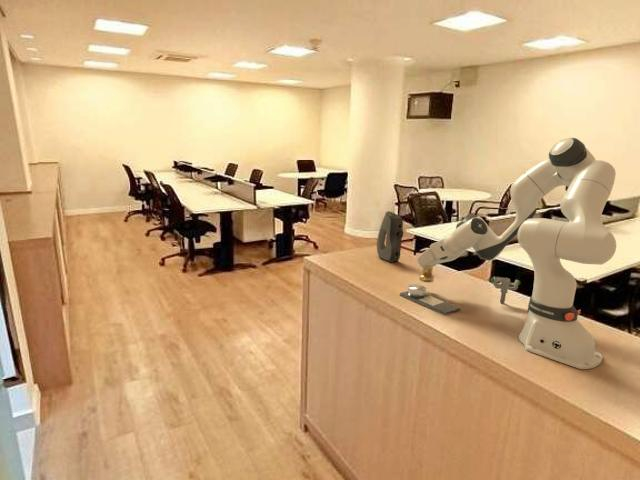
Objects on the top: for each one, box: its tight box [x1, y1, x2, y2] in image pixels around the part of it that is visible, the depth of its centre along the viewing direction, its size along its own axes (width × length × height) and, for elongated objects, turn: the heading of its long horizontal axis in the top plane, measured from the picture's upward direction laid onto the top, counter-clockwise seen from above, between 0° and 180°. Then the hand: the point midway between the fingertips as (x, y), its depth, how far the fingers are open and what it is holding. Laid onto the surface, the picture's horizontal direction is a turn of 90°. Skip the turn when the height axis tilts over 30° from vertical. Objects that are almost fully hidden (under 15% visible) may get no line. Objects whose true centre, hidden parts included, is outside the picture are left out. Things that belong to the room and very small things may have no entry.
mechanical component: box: [490, 276, 521, 305], centre depth 160 cm, size 3×10×10 cm, turn 78°
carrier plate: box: [399, 283, 462, 316], centre depth 158 cm, size 22×9×4 cm, turn 36°
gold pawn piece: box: [419, 265, 435, 283], centre depth 168 cm, size 6×6×9 cm
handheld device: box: [376, 210, 404, 264], centre depth 211 cm, size 6×15×25 cm, turn 36°
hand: (426, 266), depth 168 cm, fingers closed on gold pawn piece, 4 cm apart
